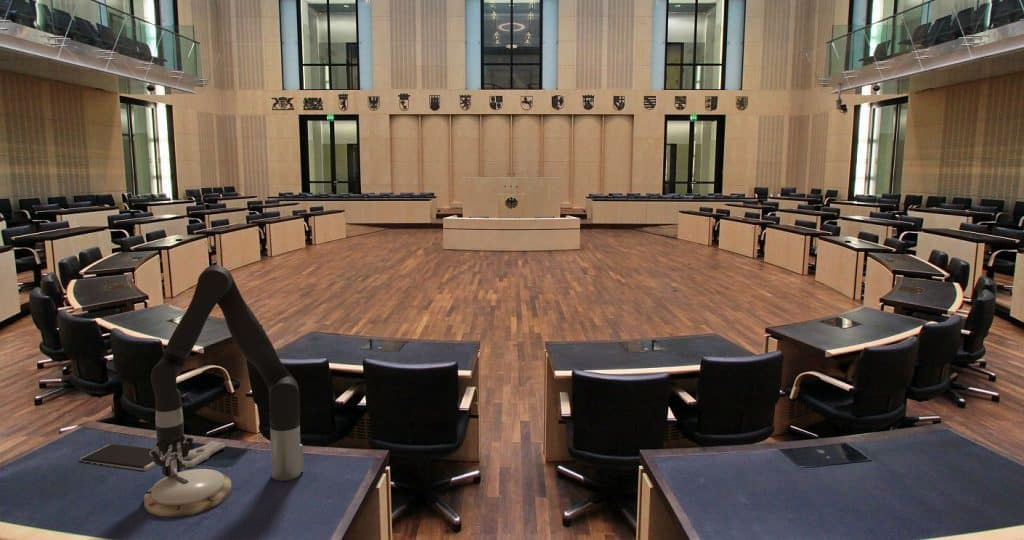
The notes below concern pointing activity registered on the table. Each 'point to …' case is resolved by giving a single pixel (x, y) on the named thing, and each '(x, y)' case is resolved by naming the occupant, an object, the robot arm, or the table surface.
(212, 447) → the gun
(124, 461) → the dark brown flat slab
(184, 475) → the dial
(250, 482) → the table surface
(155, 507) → the dial base
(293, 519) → the table surface
